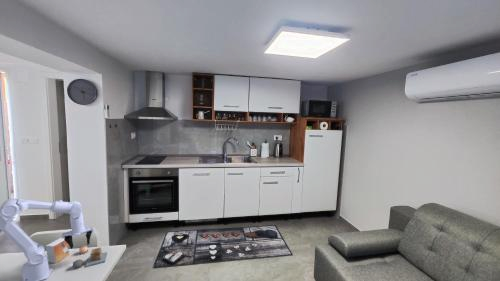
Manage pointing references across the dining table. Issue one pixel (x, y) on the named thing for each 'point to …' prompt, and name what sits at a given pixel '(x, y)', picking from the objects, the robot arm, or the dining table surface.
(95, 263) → the slate board
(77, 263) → the rubber puck
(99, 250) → the walnut block
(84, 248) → the terracotta cylinder
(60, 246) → the small box
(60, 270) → the dining table surface
